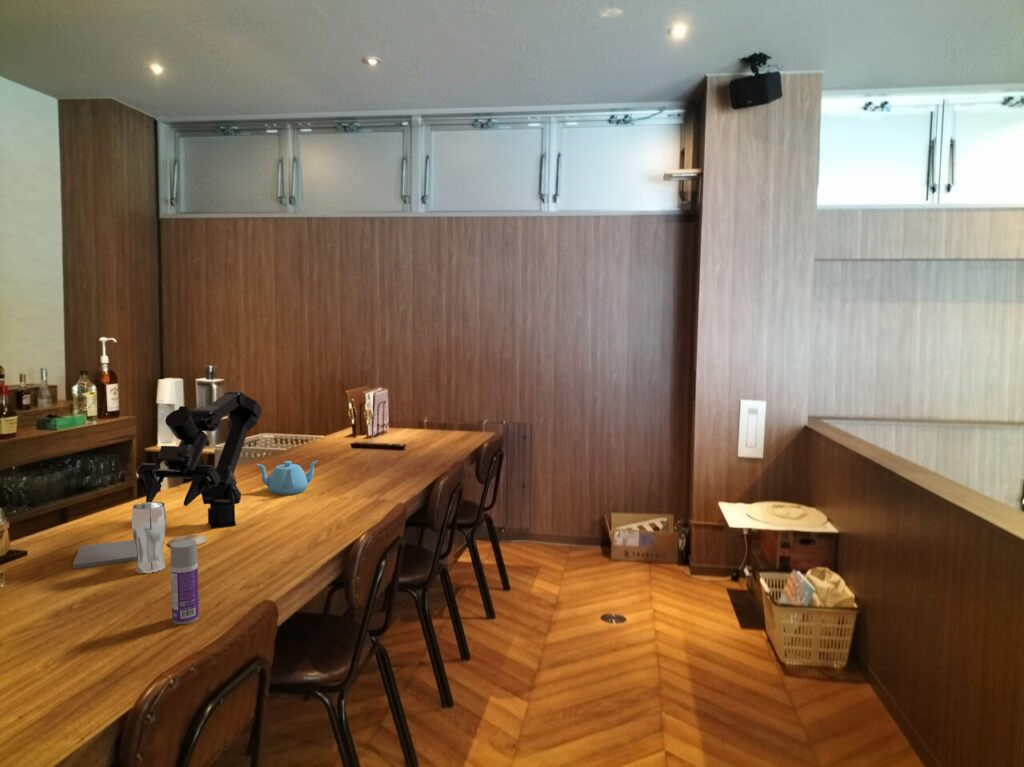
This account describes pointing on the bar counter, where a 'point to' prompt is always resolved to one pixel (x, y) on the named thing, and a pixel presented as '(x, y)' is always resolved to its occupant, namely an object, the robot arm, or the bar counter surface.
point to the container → (184, 582)
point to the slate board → (105, 554)
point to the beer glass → (149, 535)
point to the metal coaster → (198, 538)
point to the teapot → (287, 478)
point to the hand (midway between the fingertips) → (166, 504)
